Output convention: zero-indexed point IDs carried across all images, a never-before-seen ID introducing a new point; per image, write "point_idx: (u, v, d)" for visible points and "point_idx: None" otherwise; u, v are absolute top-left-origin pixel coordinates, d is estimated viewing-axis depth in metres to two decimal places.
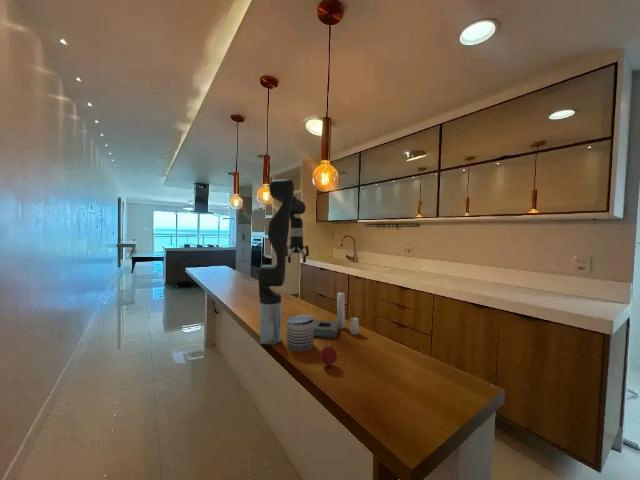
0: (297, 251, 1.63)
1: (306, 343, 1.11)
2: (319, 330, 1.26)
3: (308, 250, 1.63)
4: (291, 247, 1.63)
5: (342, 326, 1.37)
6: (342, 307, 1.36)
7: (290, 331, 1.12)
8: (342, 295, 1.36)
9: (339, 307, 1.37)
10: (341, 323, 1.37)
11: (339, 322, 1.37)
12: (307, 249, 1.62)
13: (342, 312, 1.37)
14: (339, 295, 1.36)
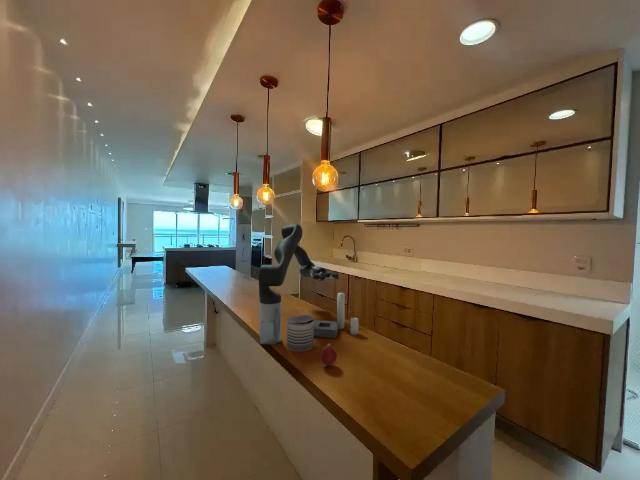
0: (326, 273, 1.54)
1: (306, 343, 1.11)
2: (319, 330, 1.26)
3: None
4: (318, 273, 1.55)
5: (342, 326, 1.37)
6: (342, 307, 1.36)
7: (290, 331, 1.12)
8: (342, 295, 1.36)
9: (339, 307, 1.37)
10: (341, 323, 1.37)
11: (339, 322, 1.37)
12: (334, 272, 1.58)
13: (342, 312, 1.37)
14: (339, 295, 1.36)
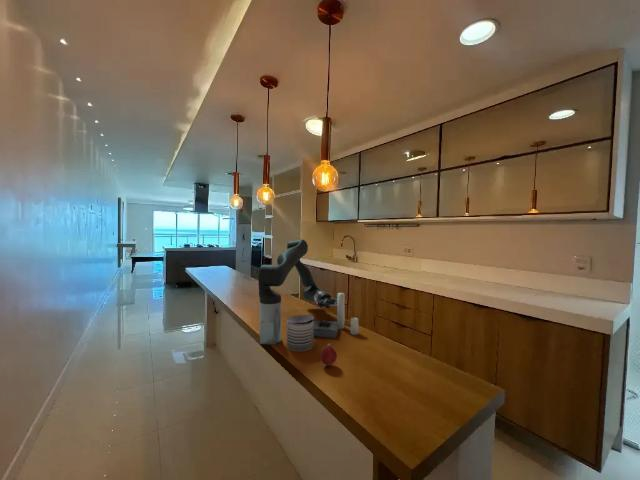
0: (331, 300, 1.49)
1: (306, 343, 1.11)
2: (319, 330, 1.26)
3: None
4: (323, 300, 1.49)
5: (342, 326, 1.37)
6: (342, 307, 1.36)
7: (290, 331, 1.12)
8: (342, 295, 1.36)
9: (339, 307, 1.37)
10: (341, 323, 1.37)
11: (339, 322, 1.37)
12: None
13: (342, 312, 1.37)
14: (339, 295, 1.36)
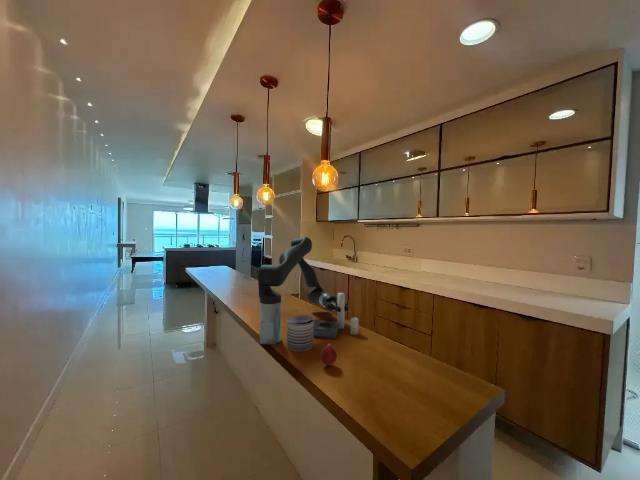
0: (335, 303, 1.43)
1: (306, 343, 1.11)
2: (319, 330, 1.26)
3: None
4: (329, 302, 1.44)
5: (342, 326, 1.37)
6: (342, 307, 1.36)
7: (290, 331, 1.12)
8: (342, 295, 1.36)
9: None
10: (341, 323, 1.37)
11: (339, 322, 1.37)
12: (345, 302, 1.45)
13: (342, 312, 1.37)
14: (339, 295, 1.36)
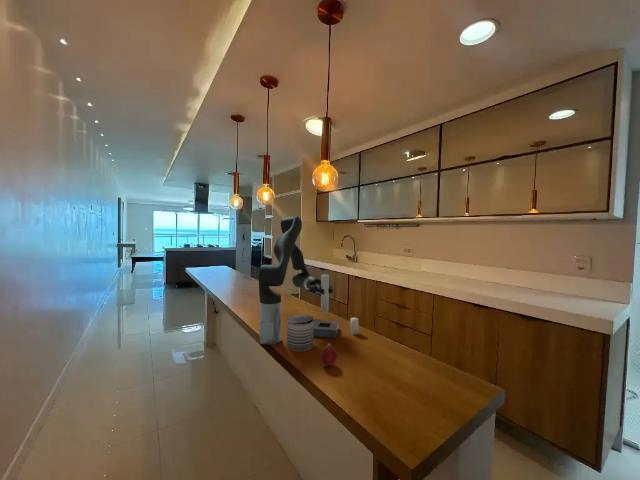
0: (319, 285, 1.36)
1: (306, 343, 1.11)
2: (319, 330, 1.26)
3: None
4: (313, 285, 1.37)
5: (326, 309, 1.30)
6: (326, 289, 1.29)
7: (290, 331, 1.12)
8: (326, 276, 1.29)
9: None
10: (325, 306, 1.30)
11: (323, 305, 1.30)
12: None
13: (326, 294, 1.29)
14: (323, 276, 1.29)
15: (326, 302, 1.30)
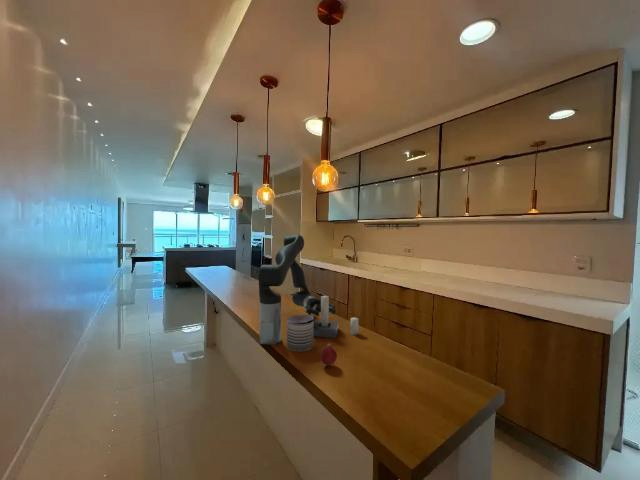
0: None
1: (306, 343, 1.11)
2: (319, 330, 1.26)
3: None
4: (312, 306, 1.37)
5: None
6: (326, 311, 1.30)
7: (290, 331, 1.12)
8: (326, 298, 1.29)
9: (323, 311, 1.30)
10: None
11: None
12: None
13: (326, 316, 1.30)
14: (323, 298, 1.30)
15: (326, 324, 1.30)
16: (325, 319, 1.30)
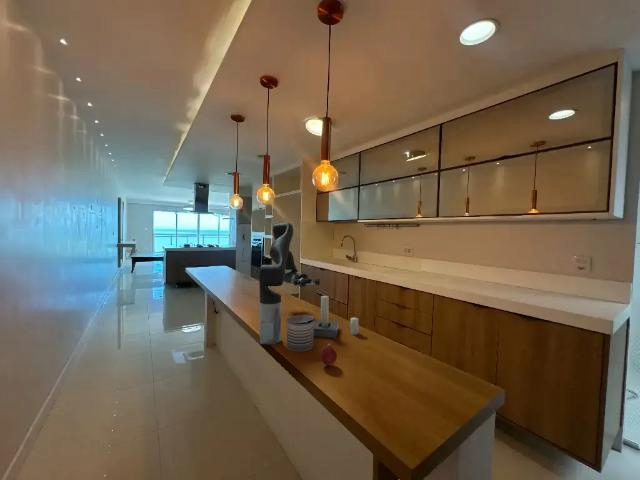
0: (307, 279, 1.50)
1: (306, 343, 1.11)
2: (319, 330, 1.26)
3: None
4: (299, 279, 1.50)
5: None
6: (326, 311, 1.30)
7: (290, 331, 1.12)
8: (326, 298, 1.29)
9: (323, 311, 1.30)
10: None
11: None
12: (316, 278, 1.53)
13: (326, 316, 1.30)
14: (323, 298, 1.30)
15: (326, 324, 1.30)
16: (325, 319, 1.30)
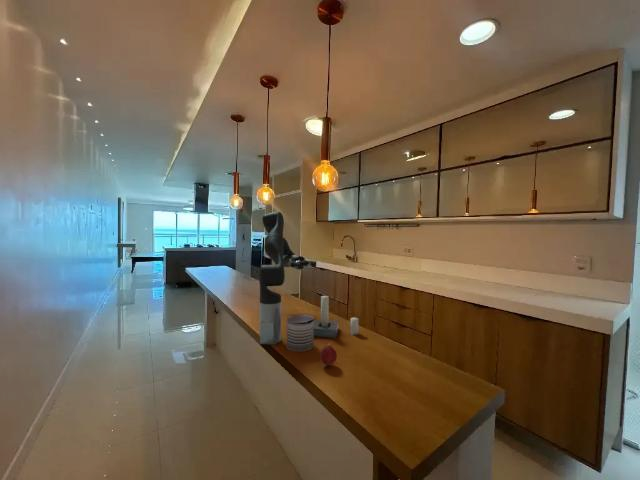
0: (304, 261, 1.51)
1: (306, 343, 1.11)
2: (319, 330, 1.26)
3: None
4: (296, 261, 1.52)
5: None
6: (326, 311, 1.30)
7: (290, 331, 1.12)
8: (326, 298, 1.29)
9: (323, 311, 1.30)
10: None
11: None
12: (313, 261, 1.55)
13: (326, 316, 1.30)
14: (323, 298, 1.30)
15: (326, 324, 1.30)
16: (325, 319, 1.30)
